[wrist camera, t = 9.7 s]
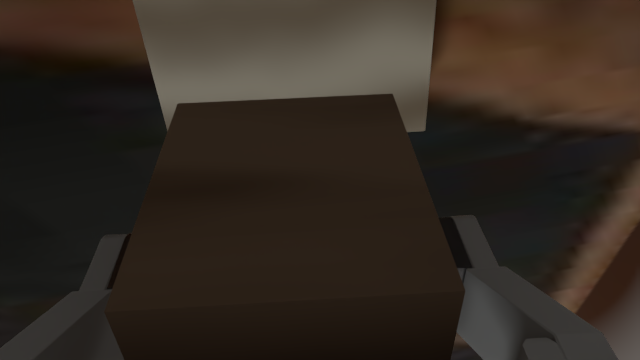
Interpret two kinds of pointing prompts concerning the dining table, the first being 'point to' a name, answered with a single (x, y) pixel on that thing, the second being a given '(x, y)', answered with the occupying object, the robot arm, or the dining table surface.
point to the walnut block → (287, 239)
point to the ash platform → (289, 50)
